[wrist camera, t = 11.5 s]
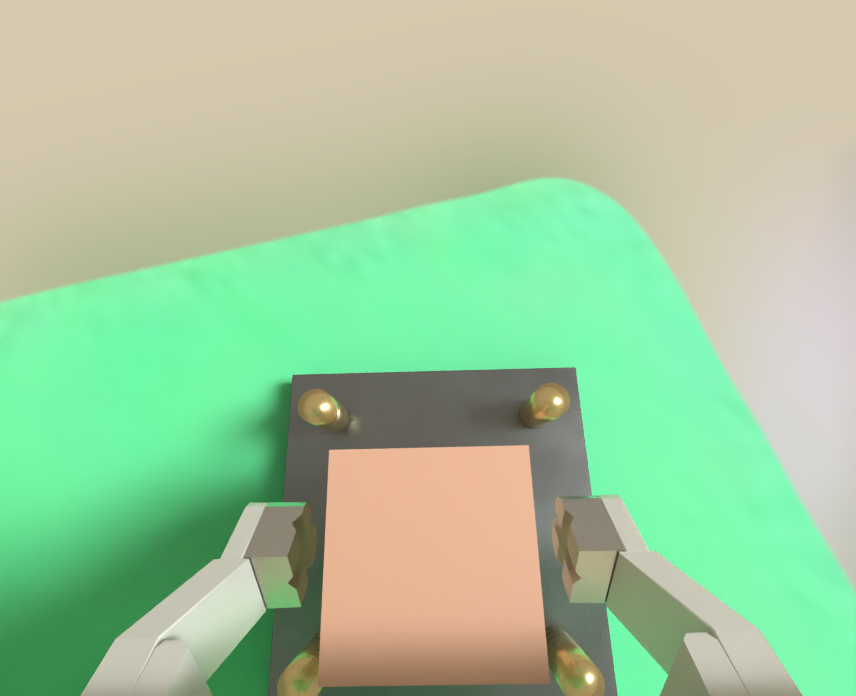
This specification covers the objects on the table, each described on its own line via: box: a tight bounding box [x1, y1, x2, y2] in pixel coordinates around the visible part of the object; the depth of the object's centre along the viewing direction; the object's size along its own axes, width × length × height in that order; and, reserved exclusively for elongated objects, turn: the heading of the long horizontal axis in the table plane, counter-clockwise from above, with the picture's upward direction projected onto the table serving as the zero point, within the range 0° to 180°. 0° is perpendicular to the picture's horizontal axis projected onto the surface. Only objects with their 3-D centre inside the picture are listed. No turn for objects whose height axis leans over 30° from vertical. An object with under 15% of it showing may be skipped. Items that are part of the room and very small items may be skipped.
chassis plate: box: [268, 368, 617, 696], centre depth 16 cm, size 12×12×4 cm
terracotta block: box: [318, 445, 550, 687], centre depth 13 cm, size 4×4×8 cm
